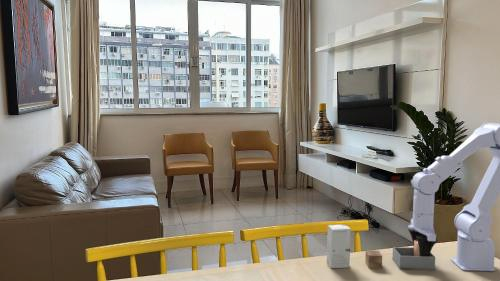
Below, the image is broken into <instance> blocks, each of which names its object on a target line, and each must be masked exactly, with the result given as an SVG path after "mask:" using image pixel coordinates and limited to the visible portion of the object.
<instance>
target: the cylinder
mask: <svg viewBox="0 0 500 281" xmlns="http://www.w3.org/2000/svg"><path fill="white" fill-rule="evenodd" d="M413 248H414V256H420V253H419V245H418V241H417V239H416V240H414V246H413Z"/></svg>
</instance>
